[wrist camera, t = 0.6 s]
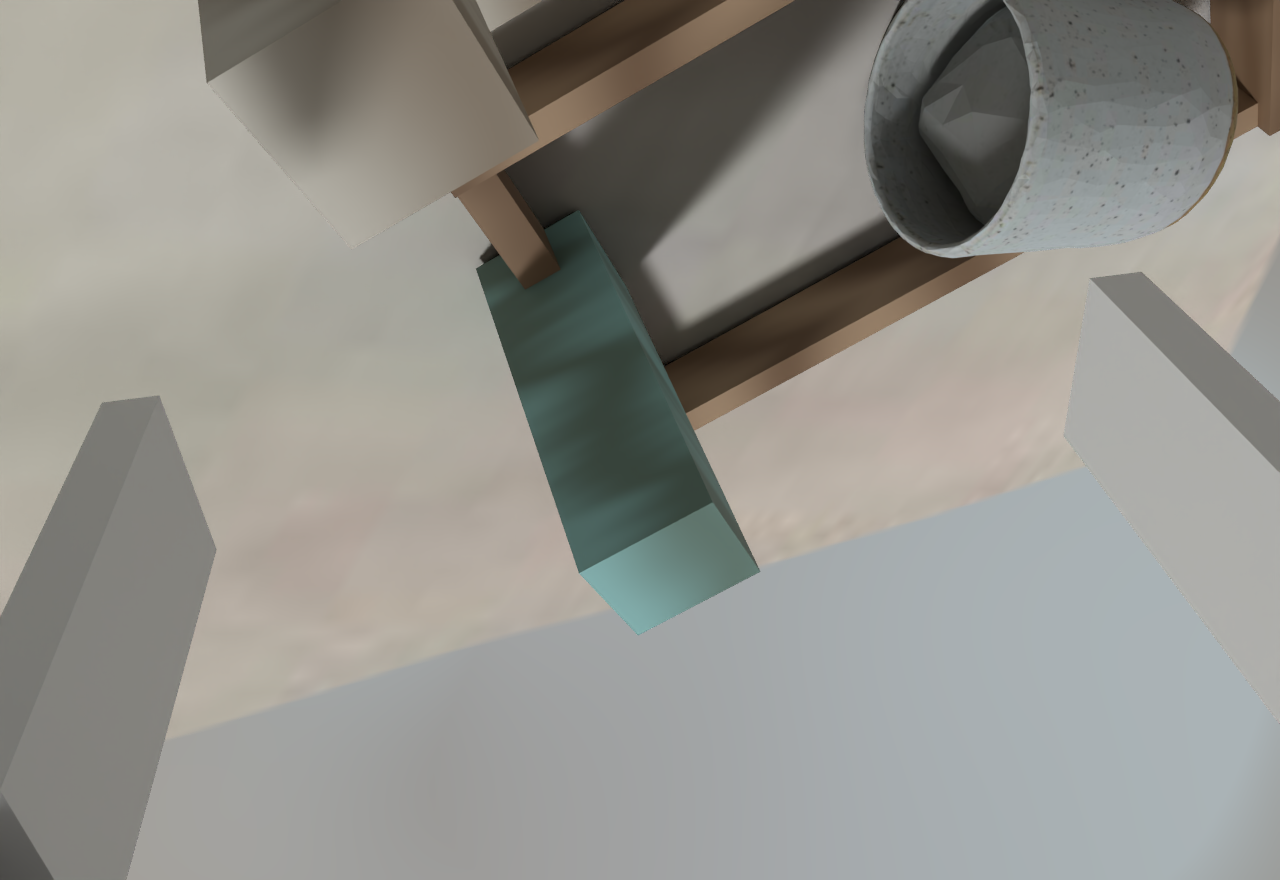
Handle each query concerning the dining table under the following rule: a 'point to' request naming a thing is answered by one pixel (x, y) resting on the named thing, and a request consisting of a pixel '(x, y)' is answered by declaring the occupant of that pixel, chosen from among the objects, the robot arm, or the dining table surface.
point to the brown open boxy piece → (721, 369)
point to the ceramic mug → (1045, 122)
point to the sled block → (369, 97)
